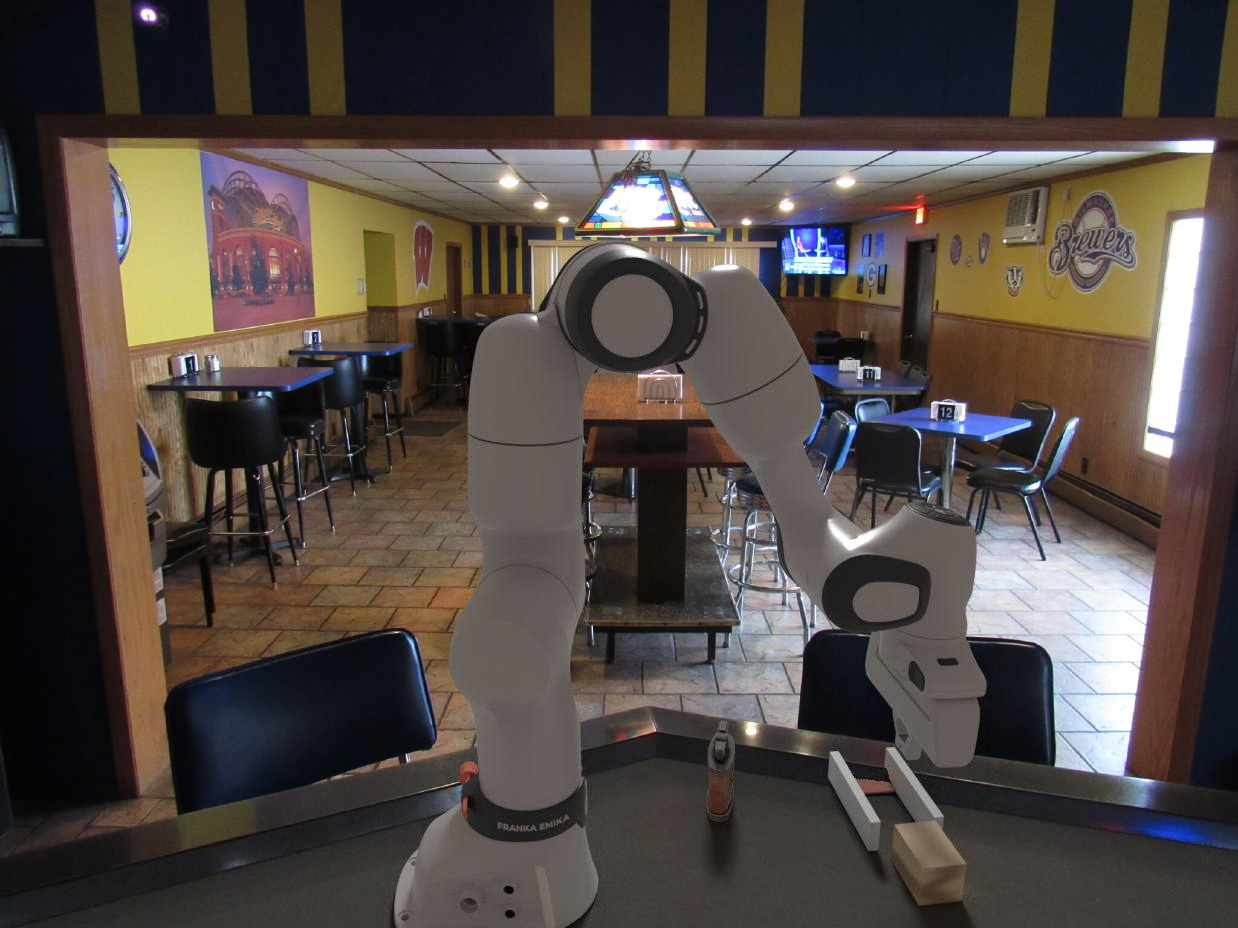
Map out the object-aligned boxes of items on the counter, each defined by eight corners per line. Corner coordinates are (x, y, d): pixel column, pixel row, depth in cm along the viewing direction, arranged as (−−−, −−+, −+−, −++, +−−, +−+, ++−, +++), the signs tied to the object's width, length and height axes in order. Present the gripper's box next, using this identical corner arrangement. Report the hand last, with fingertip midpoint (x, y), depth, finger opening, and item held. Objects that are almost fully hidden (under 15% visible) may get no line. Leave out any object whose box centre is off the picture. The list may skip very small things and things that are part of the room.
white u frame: (868, 850, 100) (870, 822, 99) (828, 777, 113) (829, 751, 112) (940, 844, 101) (944, 816, 100) (892, 772, 114) (894, 746, 113)
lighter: (730, 823, 105) (733, 753, 102) (703, 819, 105) (705, 750, 103) (735, 782, 112) (737, 717, 110) (710, 779, 113) (711, 714, 110)
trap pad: (848, 795, 110) (849, 793, 110) (838, 776, 113) (838, 774, 113) (894, 792, 110) (894, 790, 110) (882, 773, 114) (882, 771, 114)
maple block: (918, 906, 92) (923, 868, 91) (890, 860, 99) (894, 824, 97) (961, 901, 93) (966, 863, 91) (931, 856, 99) (935, 820, 98)
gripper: (858, 605, 103) (847, 704, 107) (936, 693, 84) (920, 811, 88) (907, 603, 104) (895, 702, 108) (996, 691, 84) (977, 808, 88)
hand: (907, 752), depth 98 cm, fingers closed
